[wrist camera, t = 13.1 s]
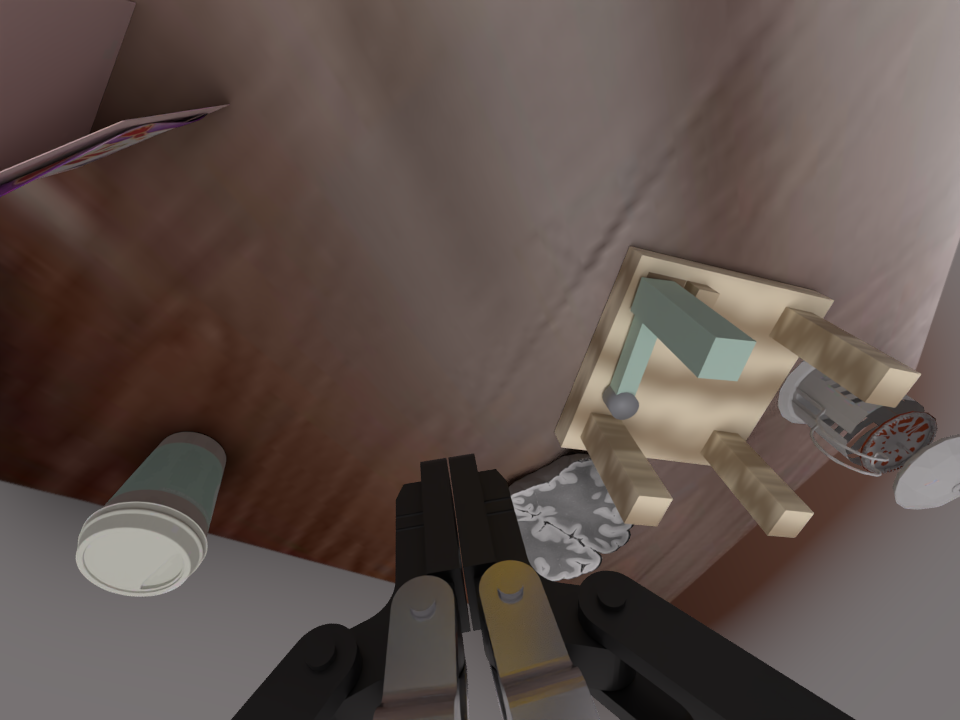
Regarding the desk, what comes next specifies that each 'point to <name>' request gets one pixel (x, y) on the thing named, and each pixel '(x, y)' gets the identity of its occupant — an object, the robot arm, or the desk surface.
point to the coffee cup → (155, 520)
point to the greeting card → (63, 87)
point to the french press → (877, 437)
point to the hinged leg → (675, 341)
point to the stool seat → (713, 390)
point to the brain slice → (567, 518)
